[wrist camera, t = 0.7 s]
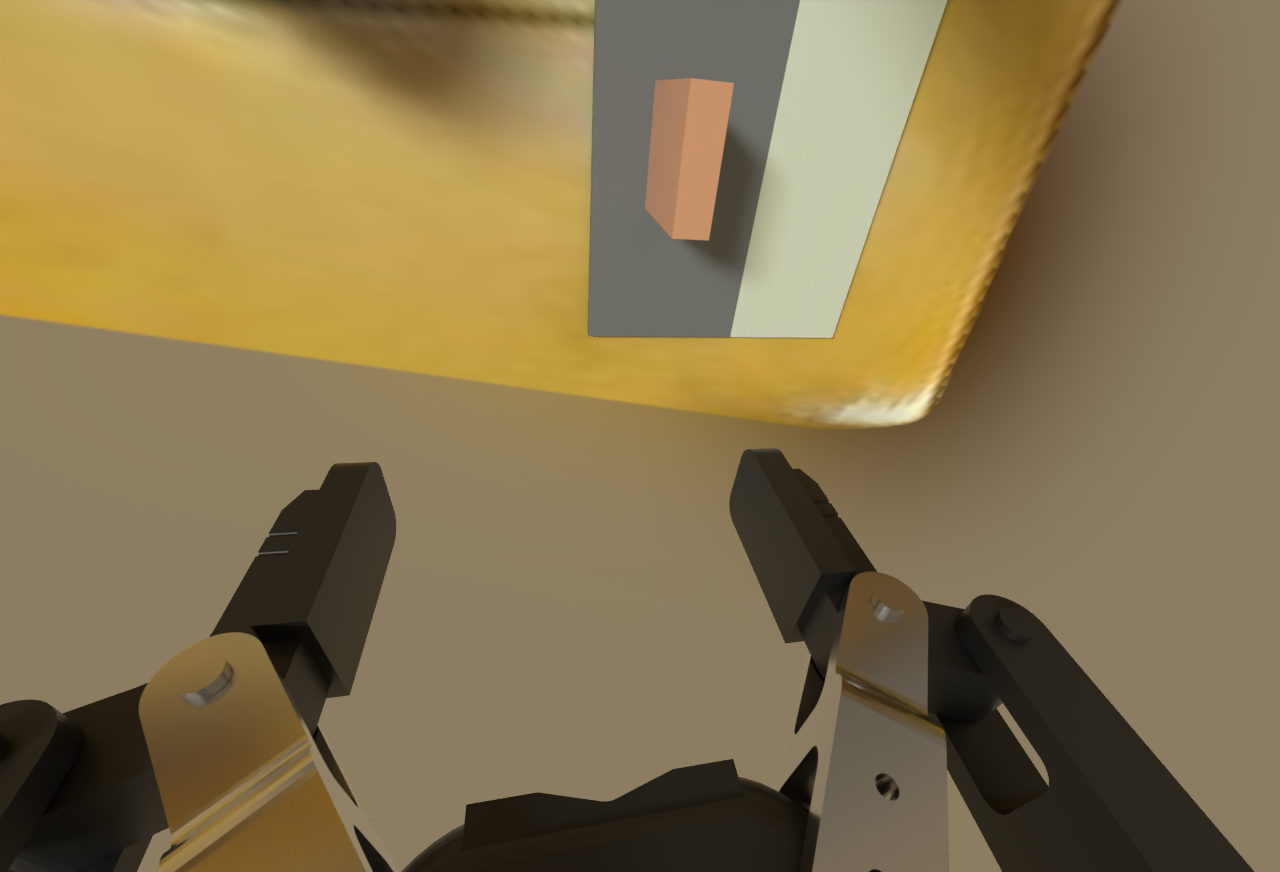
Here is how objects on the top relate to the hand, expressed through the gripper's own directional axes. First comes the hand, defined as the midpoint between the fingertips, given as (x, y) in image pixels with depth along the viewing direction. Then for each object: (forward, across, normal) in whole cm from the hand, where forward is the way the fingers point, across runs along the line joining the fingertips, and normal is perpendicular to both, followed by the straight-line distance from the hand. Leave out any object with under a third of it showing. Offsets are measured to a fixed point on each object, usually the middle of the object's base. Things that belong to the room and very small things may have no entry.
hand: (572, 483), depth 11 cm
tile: (+18, -6, -5) cm, 20 cm away
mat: (+22, -11, -4) cm, 25 cm away
